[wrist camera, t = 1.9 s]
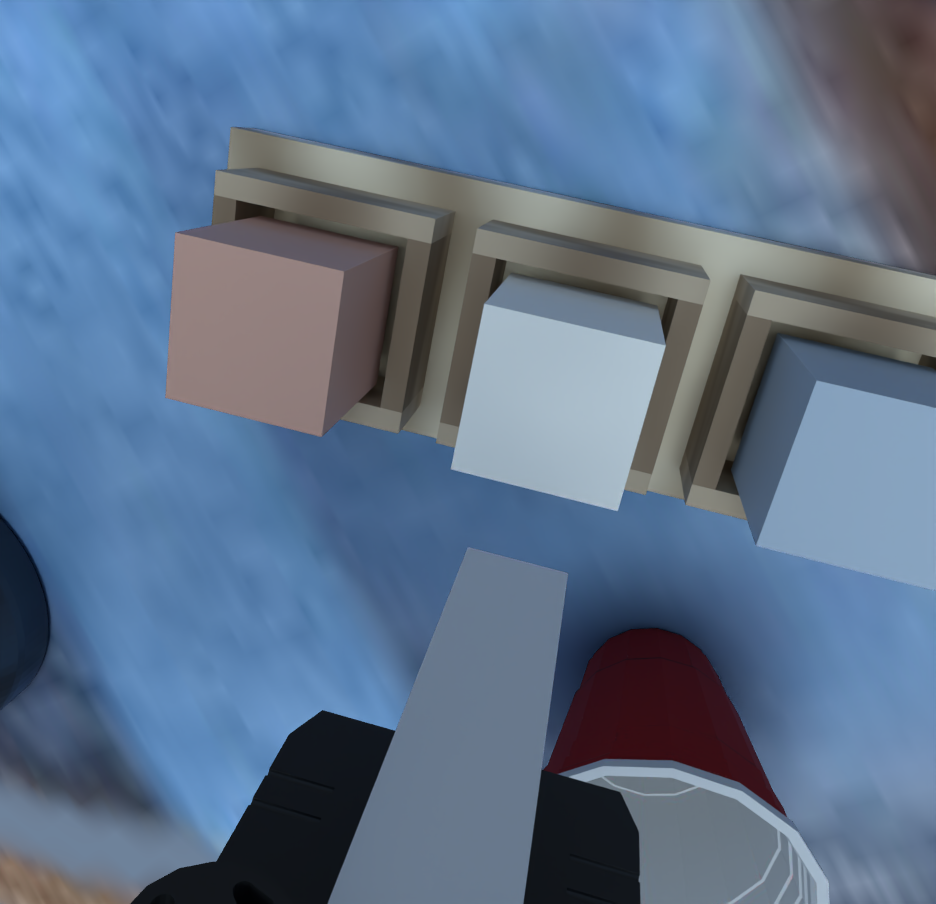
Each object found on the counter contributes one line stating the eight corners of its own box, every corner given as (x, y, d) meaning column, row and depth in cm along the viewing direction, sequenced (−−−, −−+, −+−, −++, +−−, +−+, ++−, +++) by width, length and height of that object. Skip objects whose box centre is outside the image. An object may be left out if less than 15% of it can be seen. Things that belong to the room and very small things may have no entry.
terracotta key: (247, 352, 31) (165, 398, 25) (260, 215, 29) (175, 232, 24) (376, 383, 30) (321, 436, 25) (398, 247, 29) (344, 271, 23)
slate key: (730, 469, 29) (755, 545, 24) (777, 332, 27) (816, 380, 22) (875, 504, 29) (934, 590, 23) (932, 367, 27) (1012, 425, 21)
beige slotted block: (231, 370, 36) (167, 407, 31) (253, 128, 33) (184, 124, 27) (883, 530, 34) (929, 599, 29) (988, 287, 30) (1062, 316, 25)
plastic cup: (480, 662, 39) (423, 867, 28) (663, 532, 35) (681, 709, 24) (630, 815, 41) (632, 1066, 30) (821, 705, 37) (907, 947, 26)
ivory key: (482, 409, 30) (450, 469, 25) (511, 272, 28) (484, 303, 23) (618, 442, 30) (617, 511, 24) (657, 305, 28) (666, 345, 22)
